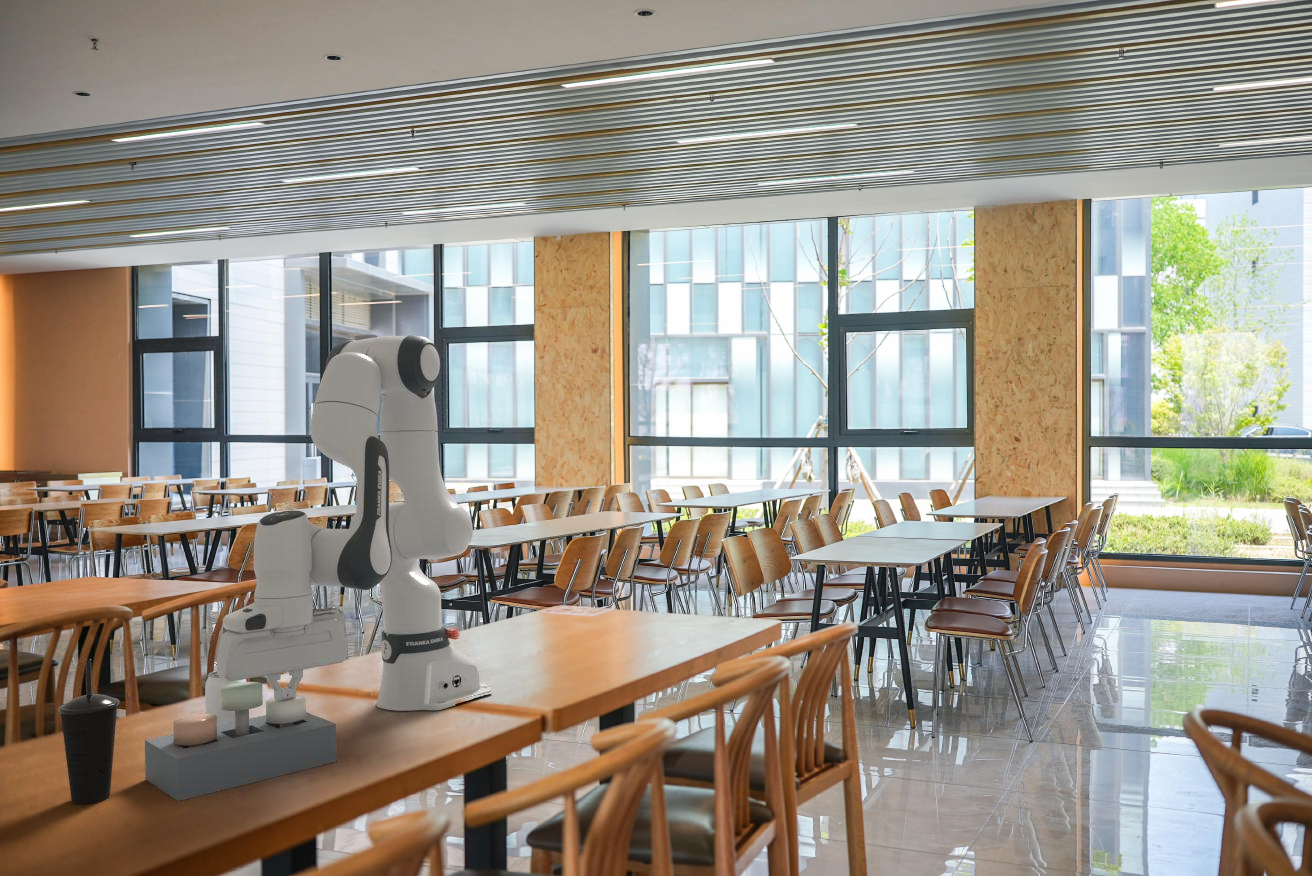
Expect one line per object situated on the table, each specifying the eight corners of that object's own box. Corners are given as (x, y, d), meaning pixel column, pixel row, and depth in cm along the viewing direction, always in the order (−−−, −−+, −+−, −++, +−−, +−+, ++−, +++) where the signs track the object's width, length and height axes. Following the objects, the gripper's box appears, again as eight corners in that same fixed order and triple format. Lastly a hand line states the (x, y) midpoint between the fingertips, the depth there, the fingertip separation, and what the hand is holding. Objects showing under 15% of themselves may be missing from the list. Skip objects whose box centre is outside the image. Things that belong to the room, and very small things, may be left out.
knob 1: (209, 766, 155) (208, 711, 155) (224, 775, 151) (223, 718, 151) (168, 776, 151) (167, 719, 151) (182, 785, 147) (181, 727, 147)
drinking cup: (56, 811, 139) (53, 667, 139) (64, 794, 146) (61, 657, 146) (118, 802, 142) (115, 661, 142) (123, 786, 149) (120, 652, 149)
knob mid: (254, 733, 160) (253, 680, 160) (269, 740, 156) (268, 685, 156) (215, 741, 156) (214, 686, 156) (230, 749, 151) (229, 692, 152)
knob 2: (296, 744, 165) (295, 693, 165) (313, 752, 160) (312, 699, 161) (260, 753, 161) (259, 700, 161) (276, 760, 156) (275, 706, 156)
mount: (298, 744, 169) (297, 708, 169) (336, 761, 159) (336, 723, 159) (145, 779, 152) (144, 739, 152) (177, 800, 142) (177, 758, 142)
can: (232, 749, 167) (230, 677, 167) (197, 748, 168) (196, 676, 168) (255, 738, 173) (253, 668, 173) (221, 737, 174) (220, 668, 175)
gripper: (335, 603, 170) (337, 685, 170) (212, 619, 156) (213, 708, 156) (353, 606, 166) (354, 690, 165) (227, 623, 151) (229, 715, 151)
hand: (285, 699), depth 160 cm, fingers closed, pressing on knob 2
